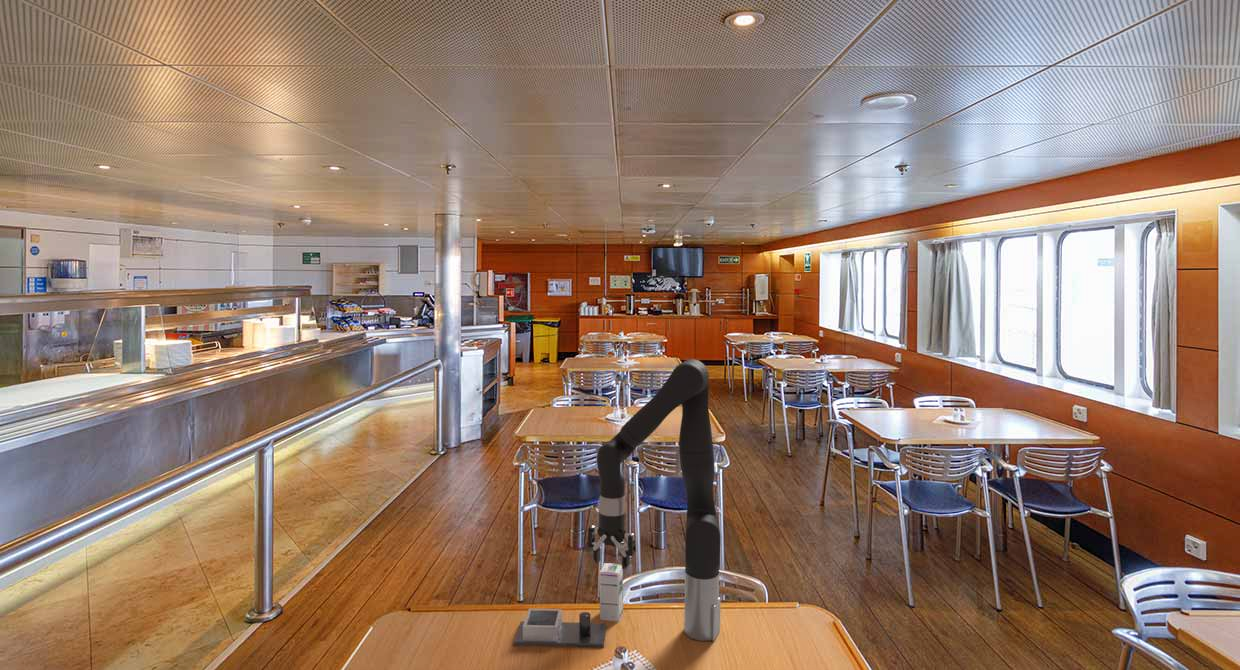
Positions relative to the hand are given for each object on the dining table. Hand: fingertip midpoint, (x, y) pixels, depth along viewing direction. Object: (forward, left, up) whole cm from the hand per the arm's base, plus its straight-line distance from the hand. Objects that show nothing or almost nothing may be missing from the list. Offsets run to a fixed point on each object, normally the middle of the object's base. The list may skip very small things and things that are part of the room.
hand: (611, 565), depth 180 cm
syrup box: (0, 0, -16) cm, 16 cm away
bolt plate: (+8, +15, -15) cm, 23 cm away
